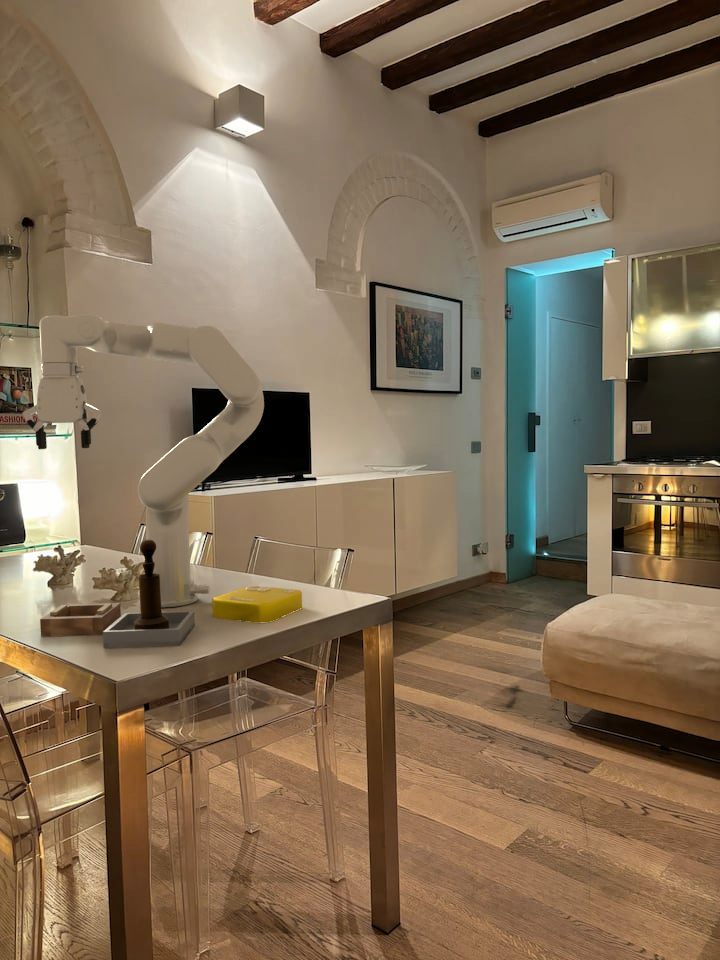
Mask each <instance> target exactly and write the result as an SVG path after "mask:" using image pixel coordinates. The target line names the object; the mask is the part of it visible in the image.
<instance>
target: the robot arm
mask: <svg viewBox="0 0 720 960" xmlns="http://www.w3.org/2000/svg"><path fill="white" fill-rule="evenodd" d="M39 336H40V337H39V338H40V339H39V341H40V356H41V376H42V377H41V378H39V382H38V386H37V394H36V405H33V406H32V407H30V408H28V409H26V410H25V411H23V412H22V416H23V418H24V420H25V421H26V424H27V425H28V426H29V427H30V428H31V429H32V430H33V432H35V443H36V446H37V448H38V450H46V449H47V448H48V446H47V445H48V444H47V442H48V441H47V431H45V429H46V427H47V425H49V423H50V424H61V423H62V424H64V423H66V424H68V423H69V424H71V423H73V424H74V423H77V424H78V425H79V427H81V428H82V430H81V431H80V444H81V448H82V449H89V448H90V445H91V444H92V434H91V431H92V430H93V428H94V427H95V426H96V425H97V424H98V423H99V420H100V418H101V416H102V413H103V412H102V410H100V409H98V408H96V407H94V406H93V405H90V404H88V401H87V399H88V398H87V394H86V388H85V384H84V380H83V378H82V377H81V378H80V374H84V373H85V368H84V367H85V366H80V365H79V363H78V348H79V347H81V348H85V349H88V350H91V351H92V352H96V353H100V354H108V355H113V356H122V357H129V358H138V359H139V358H140V359H145V360H148V361H159V362H160V361H161V362H166V363H167V362H168V363H175V364H182V365H188V366H195V367H199V368H200V369H201V371H202V372H204V373H205V375H206V376H207V377H208V378H209V379H210V381H212V383H213V384H214V385H215V386H216V388H218V390H219V391H220V392H221V393H222V395H223V396H224V397H225V398H226V399H227V400H228V401H227V404H226V406H225V408H223V410H222V411H221V412H220V413H218V414H217V415H216V416H215V417H214V418H213V419H212V420H211V421H210V422H209V423H207V425H205V426H204V427H203V428H202V429H201V430H200V431H198V432H197V433H196V434H193V435H190V436H188V437H185V438H184V439H182V440H181V441H180V442H178V443H177V444H176V445H175V446H174V447H173V448H171V450H169V452H167V453H166V454H165V455H163V457H161V458H160V459H159V460H158V461H157V462H156V463H155V464H153V466H152V467H150V468H149V469H148V470H147V471H146V472H145V473H144V474H143V475H142V476H141V477H140V479H139V481H138V484H137V495H138V499H139V501H140V503H141V504H142V505H143V506H144V507H146V508H145V510H146V511H145V521H146V522H145V527H146V528H145V529H146V536H145V537H146V540H153V541H154V542H155V543H156V550H155V552H154V554H153V556H152V559H153V562H155V566H154V571H153V573H156V574H160V595H161V608H172V607H173V608H174V607H181V606H187V605H191V604H193V603H195V602H197V601H198V599H199V594H201V595H208V594H210V589H211V588H210V585H208V584H207V585H206V584H196V583H195V579H192V578H191V577H192V576H191V558H190V557H191V556H190V555H191V553H190V527H189V526H190V525H189V494H190V493H191V492H193V491H194V489H195V488H197V487H198V486H199V484H201V483H202V482H204V481H205V480H206V478H208V477H209V476H210V475H211V474H213V472H215V471H216V470H217V469H218V467H219V466H220V465H221V463H223V462H224V460H226V459H227V458H228V457H229V456H230V455H231V454H232V453H233V452H235V450H236V449H238V447H239V446H240V445H241V444H242V443H244V442H245V441H246V440H247V439H248V438H250V436H251V435H252V434H253V432H254V431H255V430H256V429H257V427H258V425H259V424H260V422H261V419H262V417H263V413H264V409H265V401H264V400H265V398H264V392H263V388H262V384H261V381H260V378H259V376H258V375H257V373H256V371H254V369H253V368H252V367H251V366H250V365H249V364H248V363H247V361H246V360H245V359H244V358H243V356H241V354H240V353H239V352H238V351H237V350H236V349H235V347H234V346H233V344H231V343H230V341H229V340H228V339H227V337H226V336H225V335H224V333H223V332H222V331H221V330H220V329H218V328H217V327H214V326H211V325H201V326H198V327H190V326H184V325H177V324H171V323H165V322H152V323H149V324H146V325H133V324H126V323H125V324H124V323H118V322H111V321H107V320H105V319H104V318H102V317H100V316H99V315H96V314H94V313H85V314H83V313H82V314H77V315H69V316H68V315H67V316H66V315H46V316H44V317H42V318H41V319H40V321H39ZM89 413H92V417H91V418H90V420H89V421H88V419H89ZM35 414H36V415H37V416H36V417H37V420H38V421H36V420H34V418H33V415H35Z"/></svg>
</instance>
